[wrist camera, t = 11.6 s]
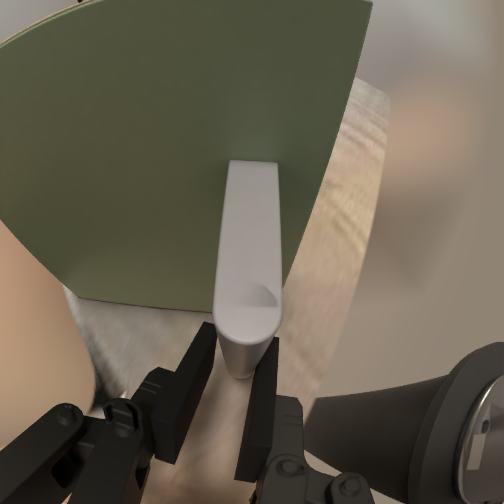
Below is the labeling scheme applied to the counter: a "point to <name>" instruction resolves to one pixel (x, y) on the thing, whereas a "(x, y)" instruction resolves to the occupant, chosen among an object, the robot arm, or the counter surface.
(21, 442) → the robot arm
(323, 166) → the cupboard door
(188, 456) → the counter surface
